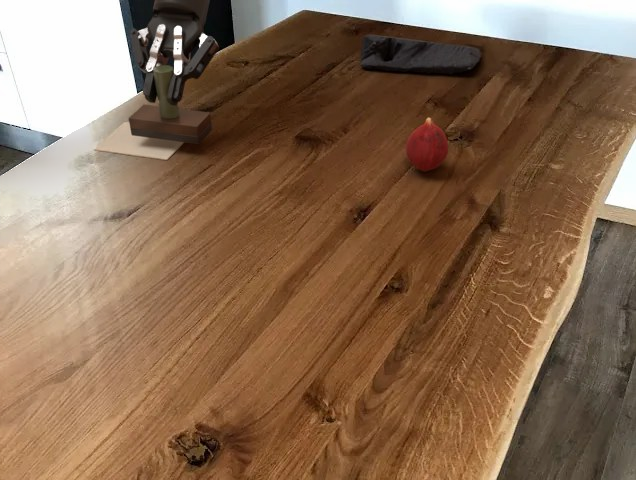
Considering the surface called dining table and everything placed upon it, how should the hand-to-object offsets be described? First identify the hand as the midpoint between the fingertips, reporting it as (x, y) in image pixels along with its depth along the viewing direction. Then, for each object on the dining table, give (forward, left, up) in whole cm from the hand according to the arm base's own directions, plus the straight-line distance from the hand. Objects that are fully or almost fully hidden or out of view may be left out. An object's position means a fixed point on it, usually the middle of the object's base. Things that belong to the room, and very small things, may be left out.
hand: (160, 101), depth 105 cm
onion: (+38, +4, -8) cm, 39 cm away
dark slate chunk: (+30, +46, -8) cm, 56 cm away
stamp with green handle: (0, +2, -6) cm, 6 cm away
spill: (-5, +2, -8) cm, 9 cm away
